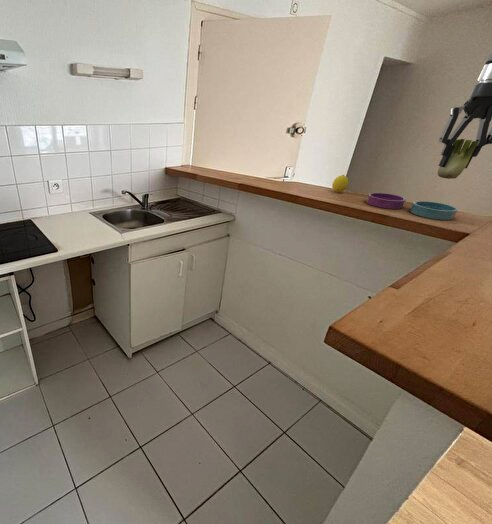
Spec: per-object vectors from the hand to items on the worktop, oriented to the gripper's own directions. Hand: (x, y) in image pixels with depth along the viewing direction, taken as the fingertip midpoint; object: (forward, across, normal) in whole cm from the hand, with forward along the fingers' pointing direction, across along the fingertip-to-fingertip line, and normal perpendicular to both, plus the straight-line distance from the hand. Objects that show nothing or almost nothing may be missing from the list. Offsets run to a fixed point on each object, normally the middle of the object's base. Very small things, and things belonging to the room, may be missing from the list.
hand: (452, 166), depth 91 cm
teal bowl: (+16, 0, 0) cm, 16 cm away
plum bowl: (+16, +12, -7) cm, 21 cm away
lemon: (+16, +26, -20) cm, 36 cm away
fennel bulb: (+4, 0, 0) cm, 4 cm away
